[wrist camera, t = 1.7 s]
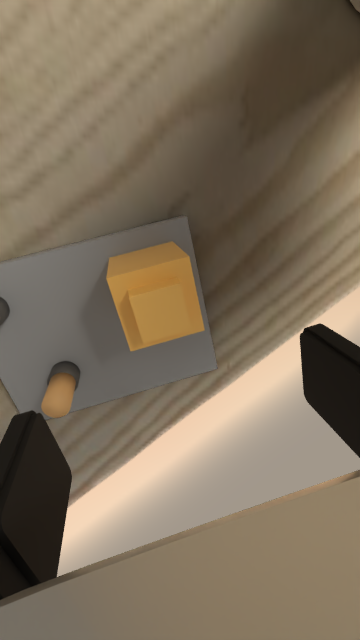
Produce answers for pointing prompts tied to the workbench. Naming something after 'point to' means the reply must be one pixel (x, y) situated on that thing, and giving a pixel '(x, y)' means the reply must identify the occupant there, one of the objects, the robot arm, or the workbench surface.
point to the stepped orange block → (154, 295)
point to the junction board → (87, 326)
